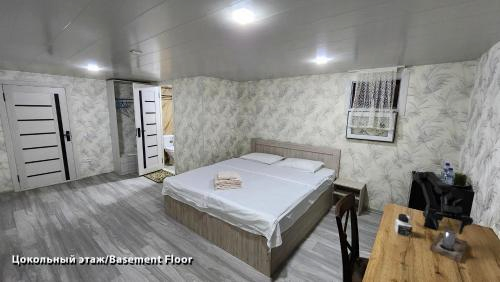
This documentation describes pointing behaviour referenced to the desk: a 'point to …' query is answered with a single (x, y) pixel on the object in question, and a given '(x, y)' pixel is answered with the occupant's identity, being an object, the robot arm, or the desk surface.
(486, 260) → the desk surface
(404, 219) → the medicine bottle
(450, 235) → the steel peg
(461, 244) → the bore block
